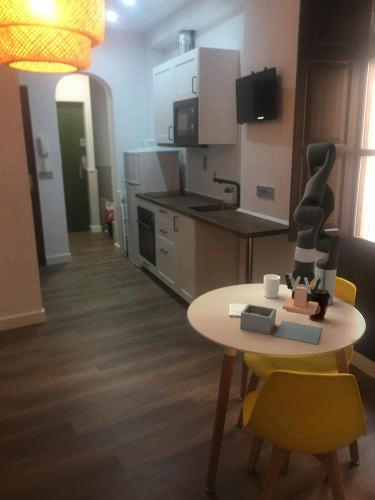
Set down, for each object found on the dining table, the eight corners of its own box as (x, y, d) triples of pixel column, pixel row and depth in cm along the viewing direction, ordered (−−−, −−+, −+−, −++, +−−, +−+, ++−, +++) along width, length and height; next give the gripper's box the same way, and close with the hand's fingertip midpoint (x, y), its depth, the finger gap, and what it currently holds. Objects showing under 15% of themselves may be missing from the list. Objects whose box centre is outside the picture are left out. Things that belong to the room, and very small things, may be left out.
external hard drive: (247, 307, 189) (247, 319, 177) (229, 306, 190) (228, 317, 178) (247, 304, 188) (248, 315, 176) (229, 303, 189) (228, 314, 177)
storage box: (247, 319, 175) (247, 304, 173) (275, 324, 170) (276, 308, 168) (240, 328, 166) (240, 312, 164) (269, 334, 161) (270, 318, 160)
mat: (282, 321, 173) (282, 320, 173) (321, 328, 167) (321, 327, 167) (274, 336, 160) (274, 335, 160) (316, 344, 154) (316, 343, 154)
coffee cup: (316, 325, 170) (319, 295, 167) (302, 317, 178) (304, 289, 174) (331, 321, 174) (334, 292, 171) (317, 313, 181) (320, 286, 178)
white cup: (260, 293, 205) (261, 274, 202) (275, 292, 205) (277, 273, 203) (265, 299, 197) (266, 279, 194) (281, 298, 198) (282, 279, 195)
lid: (287, 303, 168) (288, 283, 166) (317, 308, 163) (319, 288, 161) (282, 312, 159) (283, 291, 157) (314, 317, 154) (316, 296, 152)
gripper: (325, 258, 156) (321, 300, 161) (287, 253, 162) (284, 294, 166) (323, 263, 150) (318, 307, 154) (283, 258, 155) (280, 300, 160)
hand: (300, 300), depth 160 cm, fingers closed on lid, 4 cm apart
